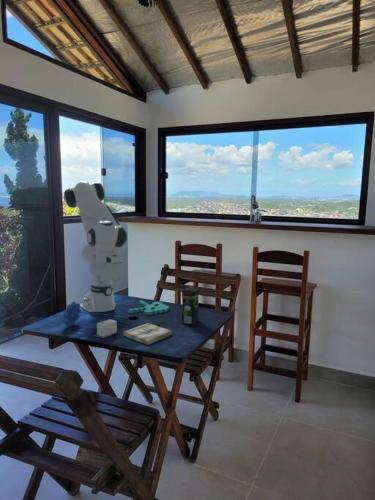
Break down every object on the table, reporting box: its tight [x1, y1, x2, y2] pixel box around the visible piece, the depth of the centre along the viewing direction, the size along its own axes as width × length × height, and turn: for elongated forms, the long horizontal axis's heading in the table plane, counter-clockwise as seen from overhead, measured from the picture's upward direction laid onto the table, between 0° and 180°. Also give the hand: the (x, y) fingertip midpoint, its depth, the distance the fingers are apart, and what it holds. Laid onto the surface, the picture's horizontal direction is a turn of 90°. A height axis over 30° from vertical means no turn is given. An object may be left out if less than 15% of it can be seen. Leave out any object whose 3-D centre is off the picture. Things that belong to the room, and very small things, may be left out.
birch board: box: [122, 322, 173, 345], centre depth 168 cm, size 16×16×2 cm
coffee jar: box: [181, 285, 200, 325], centre depth 187 cm, size 10×8×19 cm
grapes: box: [62, 301, 82, 328], centre depth 178 cm, size 12×7×12 cm, turn 153°
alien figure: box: [128, 300, 170, 316], centre depth 208 cm, size 20×2×20 cm
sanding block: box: [96, 318, 118, 339], centre depth 168 cm, size 4×8×6 cm, turn 141°
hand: (106, 286), depth 165 cm, fingers open, 8 cm apart
